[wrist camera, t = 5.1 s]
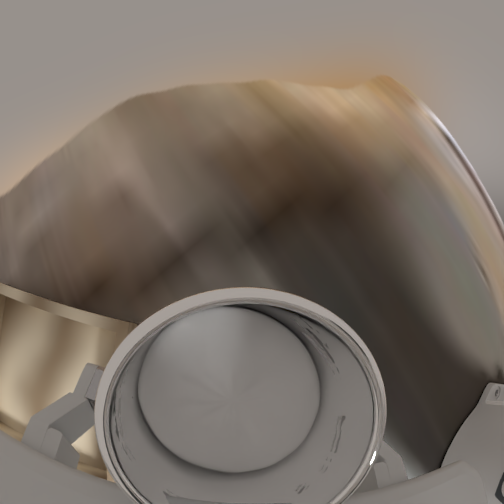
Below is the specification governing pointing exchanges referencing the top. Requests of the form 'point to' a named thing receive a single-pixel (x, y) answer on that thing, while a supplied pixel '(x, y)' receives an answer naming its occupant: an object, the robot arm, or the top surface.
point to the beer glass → (241, 402)
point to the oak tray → (50, 361)
